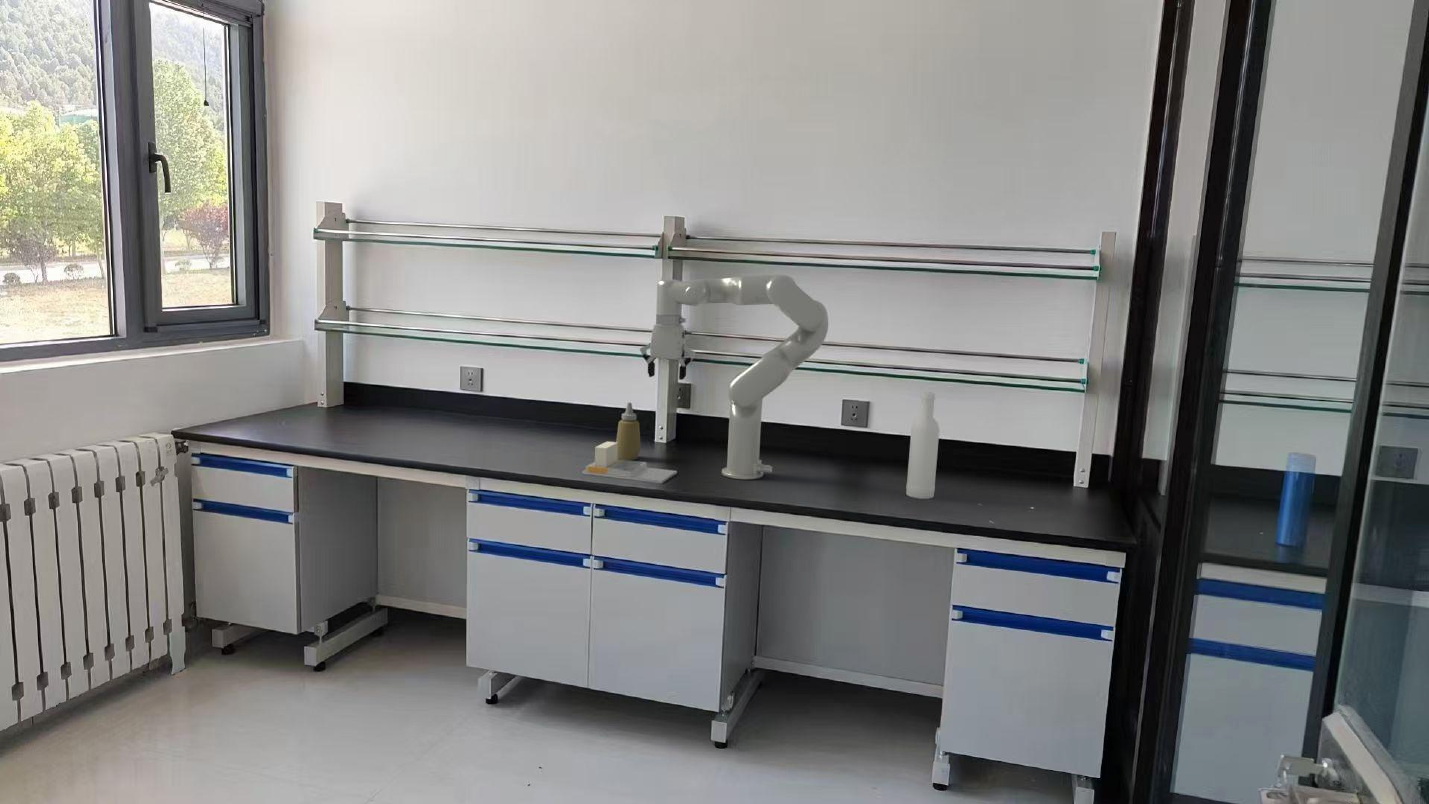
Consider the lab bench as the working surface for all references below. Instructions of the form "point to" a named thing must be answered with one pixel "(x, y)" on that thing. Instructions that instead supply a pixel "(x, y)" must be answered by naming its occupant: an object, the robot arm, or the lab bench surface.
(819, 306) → the robot arm
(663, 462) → the lab bench surface
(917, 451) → the bottle
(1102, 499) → the lab bench surface
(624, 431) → the squeeze bottle
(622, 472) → the grey framed tray board
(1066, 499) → the lab bench surface
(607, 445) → the tall ivory prism
